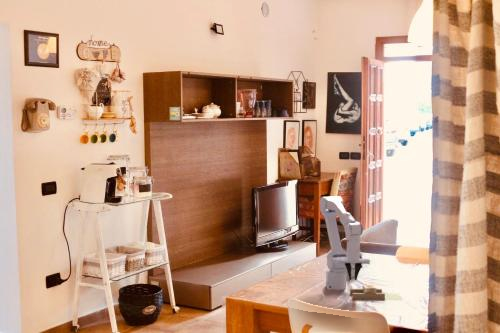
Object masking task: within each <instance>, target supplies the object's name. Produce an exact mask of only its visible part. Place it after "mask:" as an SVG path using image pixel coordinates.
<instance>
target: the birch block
mask: <svg viewBox="0 0 500 333" xmlns="http://www.w3.org/2000/svg"><path fill="white" fill-rule="evenodd" d="M362 289H363V293H376V289H377V286H376V285H375V284H363V285H362Z"/></svg>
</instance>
